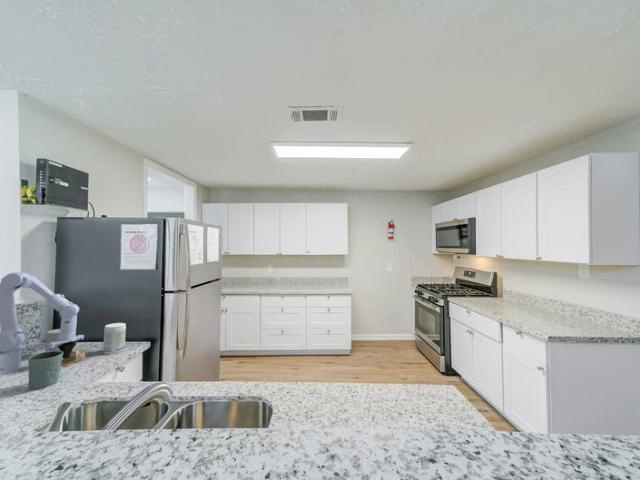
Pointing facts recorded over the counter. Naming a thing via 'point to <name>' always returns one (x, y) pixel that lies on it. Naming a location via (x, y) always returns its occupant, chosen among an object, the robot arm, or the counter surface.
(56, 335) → the grey marbled cylinder
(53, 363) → the green plant pot
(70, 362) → the board
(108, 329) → the supplement tub
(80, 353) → the birch block
